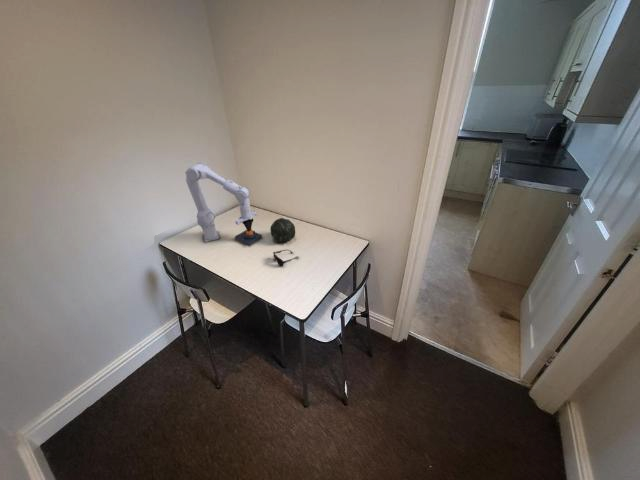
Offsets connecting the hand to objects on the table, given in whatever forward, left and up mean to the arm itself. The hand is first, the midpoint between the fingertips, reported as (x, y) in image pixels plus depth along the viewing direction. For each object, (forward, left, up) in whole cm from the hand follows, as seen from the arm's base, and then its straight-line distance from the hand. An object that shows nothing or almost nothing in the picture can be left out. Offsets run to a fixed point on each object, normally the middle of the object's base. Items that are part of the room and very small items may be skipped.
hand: (249, 230), depth 149 cm
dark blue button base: (-1, -1, -7) cm, 7 cm away
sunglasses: (+28, +12, -7) cm, 31 cm away
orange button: (0, 0, -2) cm, 2 cm away
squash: (+8, +18, -7) cm, 21 cm away
